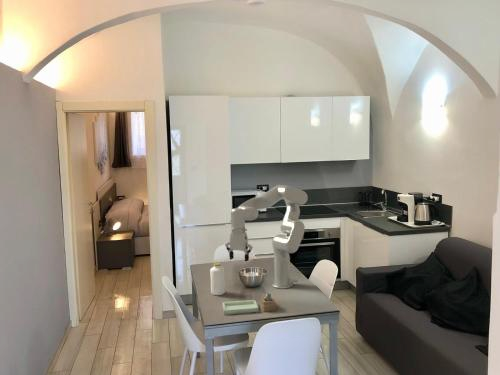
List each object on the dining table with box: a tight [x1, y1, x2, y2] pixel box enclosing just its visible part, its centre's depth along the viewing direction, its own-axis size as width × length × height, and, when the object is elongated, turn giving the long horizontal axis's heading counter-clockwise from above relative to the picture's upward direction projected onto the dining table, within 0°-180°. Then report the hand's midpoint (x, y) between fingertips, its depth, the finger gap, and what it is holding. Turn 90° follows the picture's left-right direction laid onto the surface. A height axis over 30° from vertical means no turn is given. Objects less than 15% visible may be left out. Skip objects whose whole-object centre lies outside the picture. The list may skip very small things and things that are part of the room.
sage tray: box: [221, 299, 259, 316], centre depth 241 cm, size 18×12×2 cm, turn 98°
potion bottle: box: [209, 262, 226, 296], centre depth 266 cm, size 8×8×18 cm
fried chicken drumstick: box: [261, 293, 277, 312], centre depth 243 cm, size 12×6×5 cm, turn 8°
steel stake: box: [265, 293, 272, 301], centre depth 240 cm, size 3×3×8 cm
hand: (239, 259), depth 255 cm, fingers open, 9 cm apart
